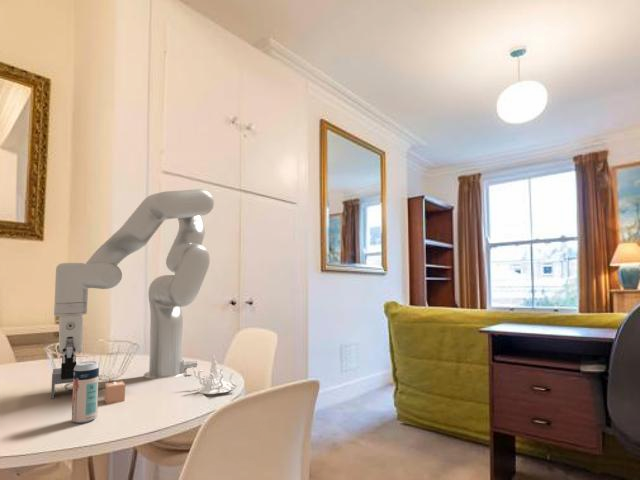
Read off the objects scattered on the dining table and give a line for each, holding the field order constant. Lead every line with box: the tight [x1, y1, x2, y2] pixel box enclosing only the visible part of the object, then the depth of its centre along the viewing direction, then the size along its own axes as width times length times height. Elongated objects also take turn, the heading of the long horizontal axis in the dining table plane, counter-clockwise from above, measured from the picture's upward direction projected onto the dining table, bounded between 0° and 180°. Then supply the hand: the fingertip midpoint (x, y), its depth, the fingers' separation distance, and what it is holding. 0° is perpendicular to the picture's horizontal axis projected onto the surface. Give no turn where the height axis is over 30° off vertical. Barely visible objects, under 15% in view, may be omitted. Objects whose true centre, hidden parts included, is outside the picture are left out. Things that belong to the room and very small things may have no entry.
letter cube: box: [104, 380, 126, 405], centre depth 101 cm, size 4×4×4 cm
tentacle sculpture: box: [190, 354, 237, 395], centre depth 110 cm, size 9×12×9 cm
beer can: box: [71, 360, 100, 424], centre depth 88 cm, size 5×5×12 cm
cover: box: [50, 368, 73, 400], centre depth 107 cm, size 7×7×6 cm
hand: (68, 374), depth 107 cm, fingers open, 9 cm apart
